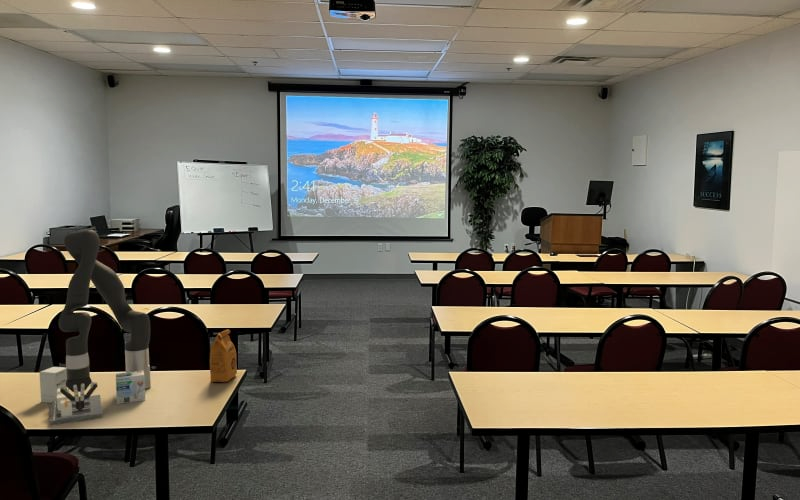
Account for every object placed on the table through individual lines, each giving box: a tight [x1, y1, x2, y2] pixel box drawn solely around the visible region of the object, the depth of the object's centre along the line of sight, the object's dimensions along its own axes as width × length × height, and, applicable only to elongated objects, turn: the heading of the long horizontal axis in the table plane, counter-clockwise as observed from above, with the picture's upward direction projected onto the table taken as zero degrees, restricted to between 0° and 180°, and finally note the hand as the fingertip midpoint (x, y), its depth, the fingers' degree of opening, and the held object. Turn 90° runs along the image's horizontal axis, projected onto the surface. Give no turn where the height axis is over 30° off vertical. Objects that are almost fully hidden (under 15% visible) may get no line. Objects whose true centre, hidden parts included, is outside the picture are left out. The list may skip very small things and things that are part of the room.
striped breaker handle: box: [61, 400, 72, 417], centre depth 220 cm, size 4×4×5 cm
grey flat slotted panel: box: [49, 394, 104, 427], centre depth 228 cm, size 17×22×2 cm
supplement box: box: [38, 366, 70, 404], centre depth 239 cm, size 7×7×13 cm
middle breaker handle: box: [57, 394, 68, 411], centre depth 226 cm, size 4×4×5 cm
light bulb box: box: [115, 370, 146, 405], centre depth 240 cm, size 11×7×11 cm, turn 118°
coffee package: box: [209, 329, 238, 383], centre depth 265 cm, size 10×12×22 cm
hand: (80, 409), depth 222 cm, fingers closed
